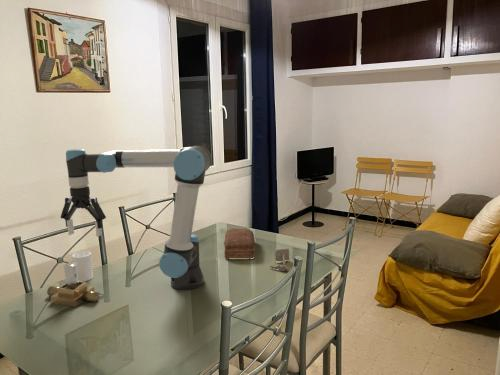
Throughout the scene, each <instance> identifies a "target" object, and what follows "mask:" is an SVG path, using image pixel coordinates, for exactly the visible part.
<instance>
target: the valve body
mask: <svg viewBox="0 0 500 375" xmlns="http://www.w3.org/2000/svg"><path fill="white" fill-rule="evenodd" d="M78 283H79V286H78V287H77V288H75V289H67V288H66V282H65V283H64V284H62V285H60V286H55V285H51V286H49V287H48V288H47V291H46V294H47V295H48V296H50V302H51V304H54V305H62V306H69V307H75V308H77V307H78V306H79V305H81V304H82V303H84V302H85V301H86V302H93V303H97V302H98V301H99V299H100V296H101V295H100V292H98V291H95V287H94V286H90V285H89V286H88V283H87V281H78Z"/></svg>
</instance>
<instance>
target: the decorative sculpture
mask: <svg viewBox="0 0 500 375" xmlns="http://www.w3.org/2000/svg"><path fill="white" fill-rule="evenodd" d="M274 260H276V261H283V263H282V264H278V265H277V266H273V265H270V266H269V267H272V268H275V269H279V270H282V271H281V272H289V271H290V268H289V267H288V265H286V262H285V260H289V261H290V249H289V248H288V247H285V248H284V247H282V248H277V249H275V251H274ZM272 268H271V269H272ZM275 269H274V270H275Z"/></svg>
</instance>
